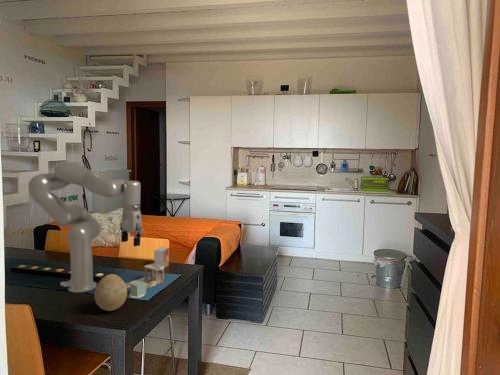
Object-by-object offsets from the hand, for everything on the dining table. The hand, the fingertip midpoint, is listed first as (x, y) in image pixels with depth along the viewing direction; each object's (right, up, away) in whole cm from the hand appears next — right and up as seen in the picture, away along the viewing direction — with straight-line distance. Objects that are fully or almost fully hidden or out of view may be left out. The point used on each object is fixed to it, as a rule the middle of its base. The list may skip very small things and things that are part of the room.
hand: (130, 243), depth 168 cm
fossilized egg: (-2, -25, -18) cm, 31 cm away
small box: (+5, -19, +38) cm, 43 cm away
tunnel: (+3, -22, +9) cm, 24 cm away
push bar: (+6, -22, +15) cm, 27 cm away
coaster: (+4, -23, -3) cm, 24 cm away
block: (+4, -23, -2) cm, 23 cm away
